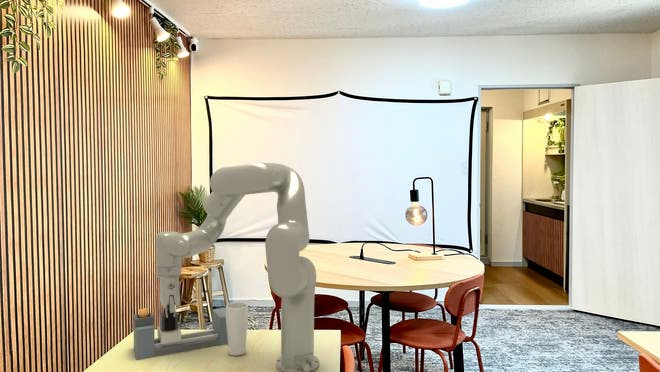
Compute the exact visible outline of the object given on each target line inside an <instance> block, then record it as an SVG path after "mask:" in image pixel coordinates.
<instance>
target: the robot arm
mask: <svg viewBox="0 0 660 372" xmlns="http://www.w3.org/2000/svg"><path fill="white" fill-rule="evenodd" d="M302 179H303V178H302V177H301V176H300V174H299V173H298V172H297V171H296V170H295V169H293V168H291V167H290V166H287V165H284V164H281V163H275V162H254V163H248V164H240V165H239V164H238V165H233V166H224V167H221V168H218V169H217V170H215V171H214V172H213V173H212V175H211V177H210V180H209V186H210V189H211V193H210V194H209V195H208V196H207V198H206V199H205V200H204V201H203V205H202V207H203V209H204V211H205V213H206V214H207V215H206V218H205V220H203V222H202V223H201V225H199V227H198V228H197V229H196V230H192V231H188V232H184V233H180V232H178V231H174V230H172V231H161V232H158V233H157V234H156V236H155V268H156V269H155V275H156V278H159V297H160V298H159V299H160V304H161V305H162V313H166V318H165V331H167V330H173V329H175V328H176V320H175V311H176V307H177V308H180V307H181V292H180V279H179V276H182V258H183V259H184V258H185V259H186V258H190V257H194V256H196V255H201V254H203V253H206V252H207V251H208V250H210V248H212V247H213V246H214V244H215V243H216V242H217V240H218V239H219V238H220V237H221V235H222V234H223V233H224V230H225V226H226V223H227V219H228V217H230V215H231V214H232V212H233V211H234V210H235V208H237V206H238V204H240V202H241V200H243V198H244V197H245V196H246V195H254V194H256V195H257V194H265V193H276V194H277V199H276V201H277V202H276V213H277V224H275V225H273V226H271V228H270V229H269V230H268V232H267V234H266V237H265V241H264V243H265V244H264V245H265V256H266V259H265V260H266V269H267V278H268V279H267V280H268V283H269V287H270V289H271V290H272V292H273V293H274V294H275V295H276V296H277V297H279V298H281V304H280V305H281V306H280V307H281V308H280V310H281V311H280V341H281V342H280V355H281V356H279V357H278V358H276V361H275V367H276V368H277V370H278V371H280V372H314V371H315V370H317V369H318V368H319V366H320V360H319V358H318V357H317V356H316V355H315V329H314V328H315V293H316V284H317V270H316V267H315V265H314V263H313V261H312V260H310V258H307V257H305V256H300V252H302V251H303V250H305V249H306V248H307V247H308V245H309V243H310V232H309V231H310V229H309V222H308V221H309V219H308V211H307V203H306V202H307V201H306V192H305V186H304V182H303V180H302Z"/></svg>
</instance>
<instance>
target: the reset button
mask: <svg viewBox="0 0 660 372" xmlns="http://www.w3.org/2000/svg"><path fill="white" fill-rule="evenodd" d="M149 313H150V312H149V308H148V307H144V308H140V309H138V314H139V318H145V317H149Z"/></svg>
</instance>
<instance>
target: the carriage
mask: <svg viewBox="0 0 660 372" xmlns="http://www.w3.org/2000/svg"><path fill="white" fill-rule="evenodd" d="M165 318H166V313H163V312H162V313H160V314H159V320H160V321H159V324H160V325H159V326H157V338H159V341H160V343H161V344H166V343H172V342H178V341H181V334H182V331H181V329H180V327H179V313H178V311H176V310H175V320H176V328H175V329H173V330H167V331H165Z"/></svg>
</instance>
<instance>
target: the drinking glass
mask: <svg viewBox="0 0 660 372" xmlns="http://www.w3.org/2000/svg"><path fill="white" fill-rule="evenodd" d="M248 306H249V305H248V303H246V302H231V303H228V304H226V306H225V308H226V328H227V339H228V344H227V352H228V354H229V355H230V356H232V357H236V356H237V357H238V356H242V355H244V354H246V350H247V349H246V348H247V347H246V346H247V334H248V333H247V332H248V322H249V321H248V319H249V309H248V308H249V307H248Z"/></svg>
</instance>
